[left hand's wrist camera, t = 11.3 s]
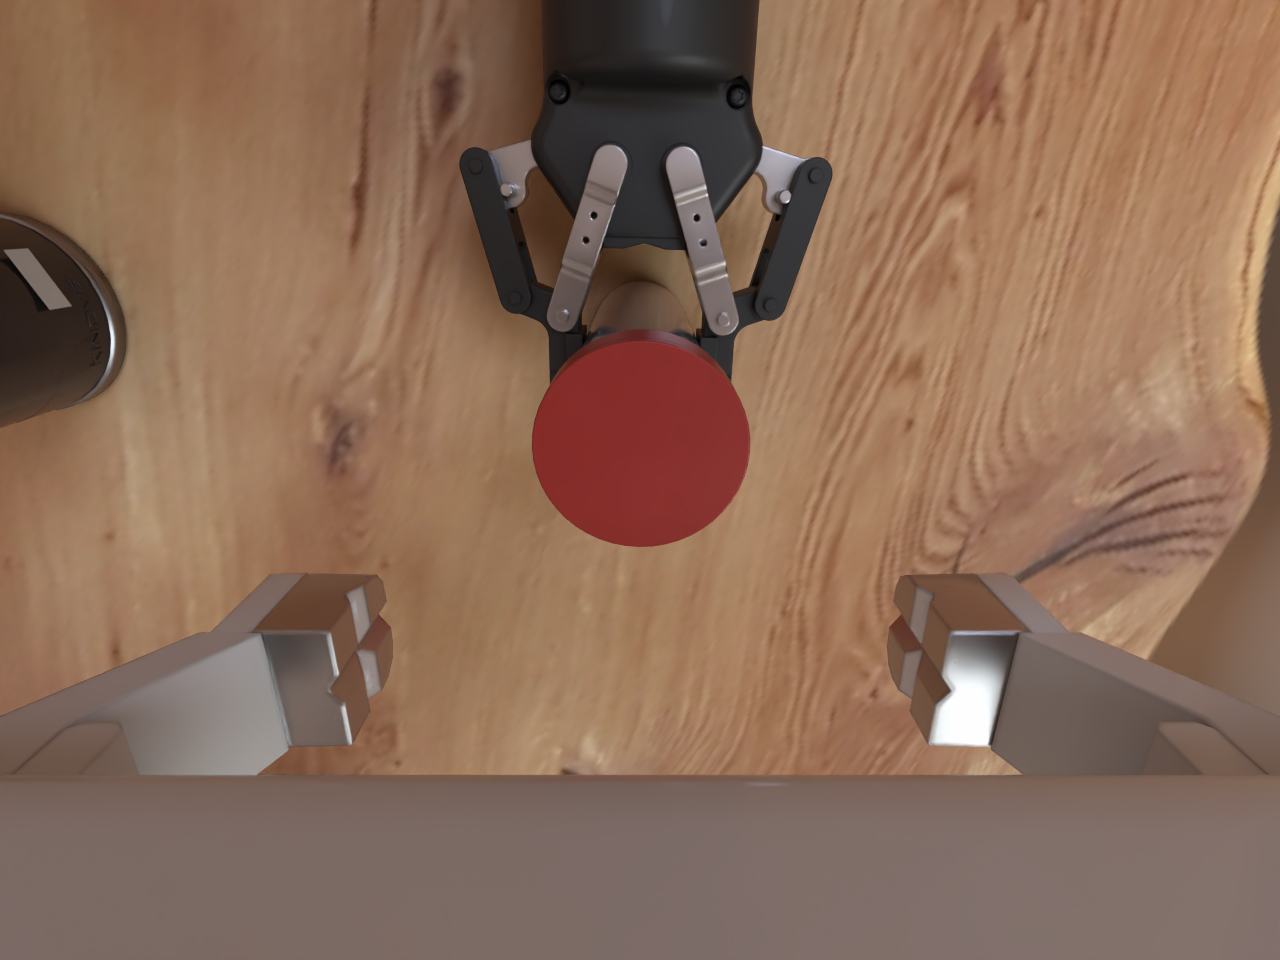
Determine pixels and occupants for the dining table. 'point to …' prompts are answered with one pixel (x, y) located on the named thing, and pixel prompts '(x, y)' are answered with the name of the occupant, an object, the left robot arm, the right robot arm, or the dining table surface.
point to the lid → (641, 439)
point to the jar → (641, 312)
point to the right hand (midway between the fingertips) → (640, 416)
